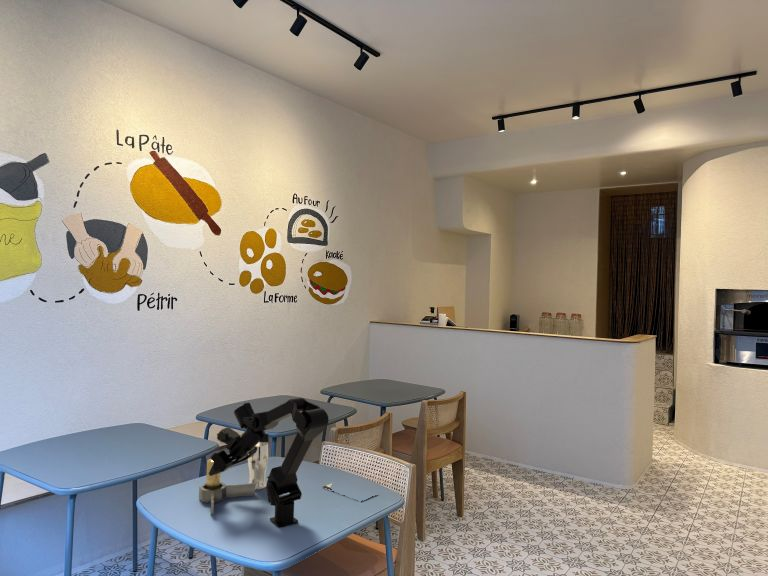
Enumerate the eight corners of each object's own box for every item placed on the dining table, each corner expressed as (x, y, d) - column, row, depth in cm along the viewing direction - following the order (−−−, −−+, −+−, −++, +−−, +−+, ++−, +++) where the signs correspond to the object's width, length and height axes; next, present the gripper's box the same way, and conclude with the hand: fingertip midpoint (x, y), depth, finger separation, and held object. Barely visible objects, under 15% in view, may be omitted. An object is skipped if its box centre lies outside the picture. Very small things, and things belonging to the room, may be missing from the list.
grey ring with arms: (265, 503, 177) (266, 490, 177) (211, 515, 166) (211, 502, 166) (245, 487, 190) (245, 475, 190) (193, 497, 179) (193, 485, 179)
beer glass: (254, 491, 186) (255, 448, 186) (242, 486, 191) (244, 443, 191) (271, 486, 191) (272, 444, 191) (259, 481, 196) (260, 440, 196)
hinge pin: (221, 499, 179) (222, 461, 179) (208, 502, 176) (209, 463, 176) (217, 495, 182) (218, 457, 182) (203, 497, 180) (205, 459, 180)
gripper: (248, 414, 186) (219, 443, 189) (216, 427, 168) (185, 459, 171) (268, 440, 184) (239, 469, 187) (238, 455, 166) (206, 487, 169)
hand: (218, 470), depth 179 cm, fingers open, 9 cm apart
